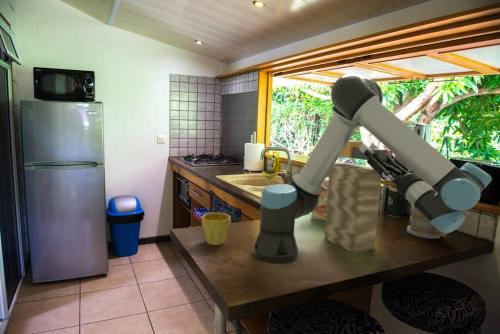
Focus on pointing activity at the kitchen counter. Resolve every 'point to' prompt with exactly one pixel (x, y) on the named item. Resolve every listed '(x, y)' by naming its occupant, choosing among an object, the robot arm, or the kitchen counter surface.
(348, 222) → the zigzag striped pillar
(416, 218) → the tankard
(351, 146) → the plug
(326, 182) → the coffeecake box
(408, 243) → the kitchen counter surface
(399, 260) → the kitchen counter surface
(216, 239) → the plant pot
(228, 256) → the kitchen counter surface
